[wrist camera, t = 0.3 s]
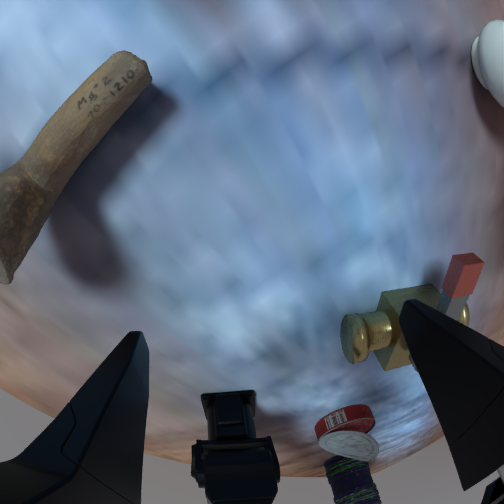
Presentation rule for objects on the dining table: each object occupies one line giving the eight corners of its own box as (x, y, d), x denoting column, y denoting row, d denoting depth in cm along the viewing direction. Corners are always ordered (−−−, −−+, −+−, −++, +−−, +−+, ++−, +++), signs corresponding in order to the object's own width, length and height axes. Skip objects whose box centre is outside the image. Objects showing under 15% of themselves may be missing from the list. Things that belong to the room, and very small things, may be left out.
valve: (436, 323, 33) (457, 352, 28) (335, 345, 32) (352, 383, 27) (454, 279, 30) (481, 307, 25) (347, 296, 28) (370, 335, 23)
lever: (431, 356, 27) (438, 366, 25) (403, 365, 26) (409, 376, 25) (476, 252, 20) (488, 261, 19) (447, 255, 20) (459, 266, 19)
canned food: (335, 411, 49) (329, 460, 43) (305, 404, 44) (298, 461, 38) (391, 405, 42) (387, 460, 36) (369, 398, 37) (363, 463, 31)
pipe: (183, 96, 18) (157, 94, 9) (47, 242, 21) (-10, 317, 13) (126, 36, 15) (63, -1, 6) (2, 194, 19) (-70, 251, 10)
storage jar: (332, 454, 51) (350, 511, 38) (370, 445, 53) (390, 498, 40) (317, 469, 56) (331, 520, 43) (352, 462, 58) (368, 509, 45)
